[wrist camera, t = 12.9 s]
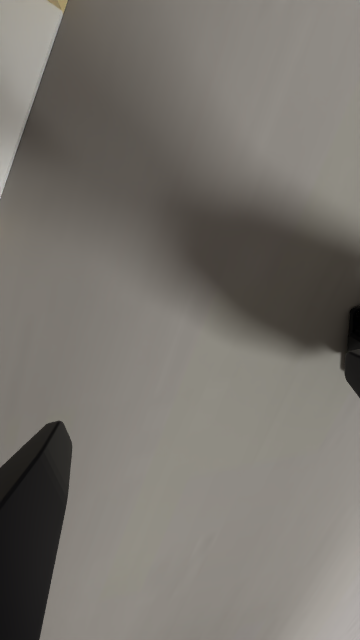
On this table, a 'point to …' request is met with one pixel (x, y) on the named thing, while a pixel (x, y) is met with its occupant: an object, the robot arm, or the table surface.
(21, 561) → the robot arm
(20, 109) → the bay
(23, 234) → the table surface
